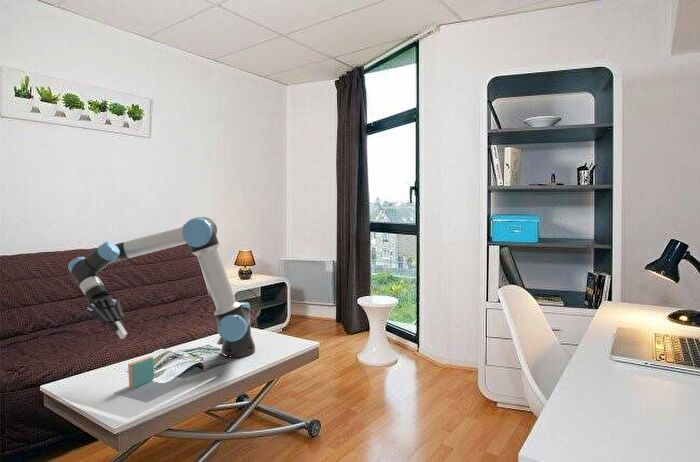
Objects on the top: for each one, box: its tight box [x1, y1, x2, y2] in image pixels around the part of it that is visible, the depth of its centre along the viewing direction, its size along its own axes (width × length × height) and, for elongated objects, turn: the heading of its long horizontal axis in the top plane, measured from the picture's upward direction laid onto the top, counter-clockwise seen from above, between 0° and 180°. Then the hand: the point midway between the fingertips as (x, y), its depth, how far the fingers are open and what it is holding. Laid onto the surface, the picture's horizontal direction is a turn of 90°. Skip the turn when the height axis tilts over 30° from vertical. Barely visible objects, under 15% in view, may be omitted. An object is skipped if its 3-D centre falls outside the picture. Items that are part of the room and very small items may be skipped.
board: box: [113, 376, 193, 403], centre depth 158 cm, size 18×20×1 cm
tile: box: [127, 355, 155, 389], centre depth 160 cm, size 2×9×9 cm, turn 153°
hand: (124, 336), depth 164 cm, fingers closed
